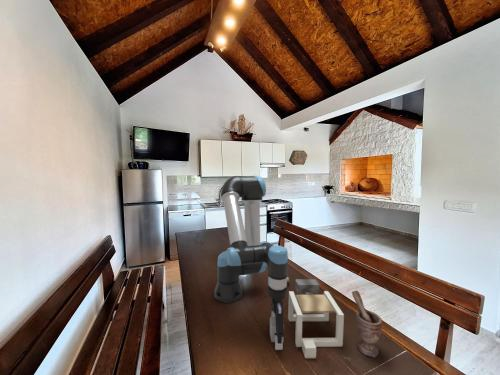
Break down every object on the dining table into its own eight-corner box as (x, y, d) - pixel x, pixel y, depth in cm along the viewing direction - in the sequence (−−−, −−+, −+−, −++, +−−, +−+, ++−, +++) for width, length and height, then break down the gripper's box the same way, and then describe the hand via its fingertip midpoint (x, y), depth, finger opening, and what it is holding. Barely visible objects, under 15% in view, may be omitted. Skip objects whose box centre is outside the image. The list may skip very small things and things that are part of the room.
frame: (296, 346, 83) (297, 315, 82) (288, 318, 99) (288, 291, 98) (342, 346, 84) (344, 314, 83) (327, 318, 100) (328, 291, 98)
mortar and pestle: (343, 343, 85) (345, 295, 83) (352, 332, 91) (354, 287, 89) (375, 362, 77) (378, 309, 75) (383, 349, 83) (386, 299, 81)
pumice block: (305, 358, 78) (305, 348, 78) (302, 349, 82) (302, 339, 82) (316, 358, 78) (316, 348, 78) (312, 349, 82) (312, 339, 82)
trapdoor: (301, 312, 85) (302, 303, 85) (291, 287, 103) (292, 279, 103) (334, 312, 85) (334, 303, 85) (318, 287, 103) (319, 279, 103)
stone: (271, 342, 86) (271, 325, 85) (269, 332, 91) (269, 316, 90) (283, 341, 86) (284, 325, 85) (281, 332, 91) (281, 316, 90)
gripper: (293, 304, 74) (291, 362, 76) (281, 271, 98) (280, 316, 100) (271, 304, 74) (270, 362, 76) (265, 271, 98) (264, 316, 100)
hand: (276, 336), depth 88 cm, fingers open, 11 cm apart
